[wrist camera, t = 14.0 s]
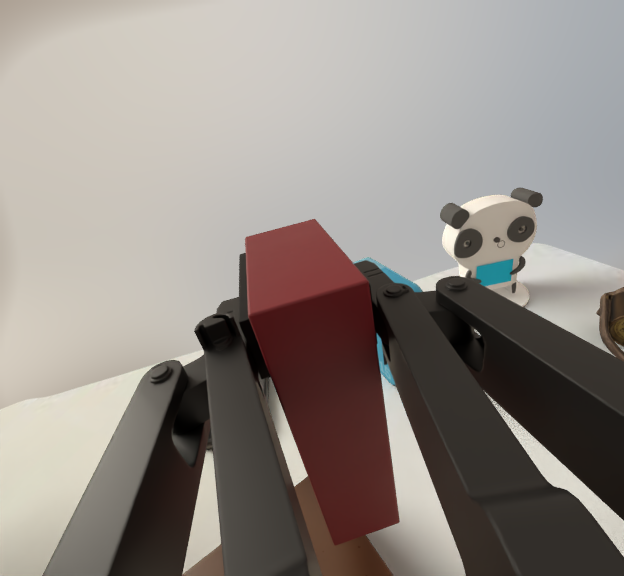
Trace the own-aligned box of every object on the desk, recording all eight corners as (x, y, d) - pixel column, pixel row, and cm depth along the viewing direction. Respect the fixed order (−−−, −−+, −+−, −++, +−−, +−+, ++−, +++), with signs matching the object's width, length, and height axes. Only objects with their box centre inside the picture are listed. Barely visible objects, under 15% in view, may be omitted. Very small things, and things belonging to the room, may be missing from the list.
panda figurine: (461, 322, 42) (466, 219, 35) (429, 284, 52) (428, 198, 45) (548, 305, 42) (571, 197, 35) (499, 270, 52) (510, 180, 44)
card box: (307, 426, 19) (244, 236, 13) (354, 410, 20) (315, 218, 13) (334, 547, 14) (247, 315, 7) (400, 523, 14) (369, 279, 8)
